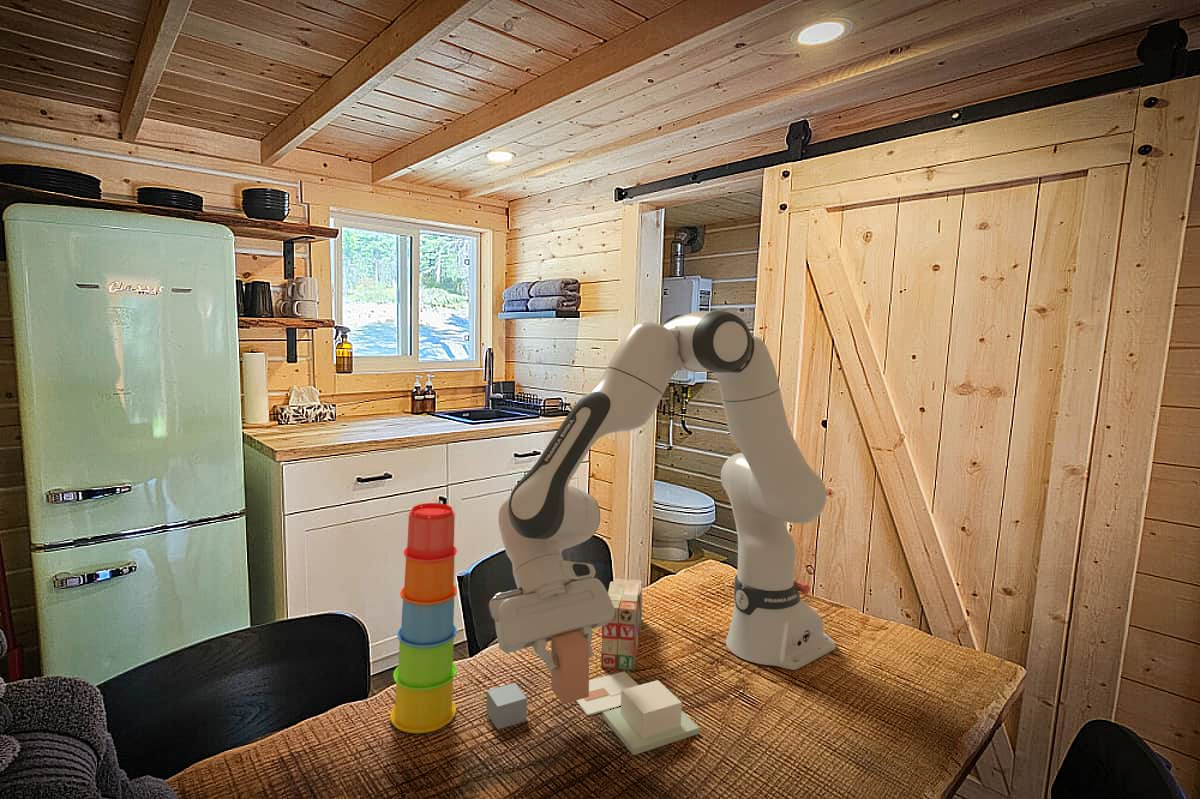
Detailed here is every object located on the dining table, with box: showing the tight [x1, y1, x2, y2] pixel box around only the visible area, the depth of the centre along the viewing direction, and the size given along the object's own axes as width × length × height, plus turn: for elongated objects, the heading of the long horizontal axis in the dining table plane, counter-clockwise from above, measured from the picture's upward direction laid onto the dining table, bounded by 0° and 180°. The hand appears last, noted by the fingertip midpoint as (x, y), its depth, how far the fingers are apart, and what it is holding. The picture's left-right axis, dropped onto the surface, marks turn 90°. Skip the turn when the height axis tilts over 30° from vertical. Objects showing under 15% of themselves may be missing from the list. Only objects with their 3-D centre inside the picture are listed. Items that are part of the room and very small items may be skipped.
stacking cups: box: [389, 502, 458, 734], centre depth 98 cm, size 10×10×35 cm
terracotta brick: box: [550, 630, 590, 705], centre depth 97 cm, size 4×4×9 cm
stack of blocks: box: [600, 578, 643, 672], centre depth 125 cm, size 21×6×12 cm, turn 172°
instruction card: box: [575, 670, 639, 717], centre depth 107 cm, size 12×9×1 cm
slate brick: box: [486, 682, 528, 730], centre depth 100 cm, size 5×5×4 cm
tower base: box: [602, 679, 701, 756], centre depth 98 cm, size 12×10×5 cm
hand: (572, 663), depth 97 cm, fingers closed on terracotta brick, 5 cm apart
